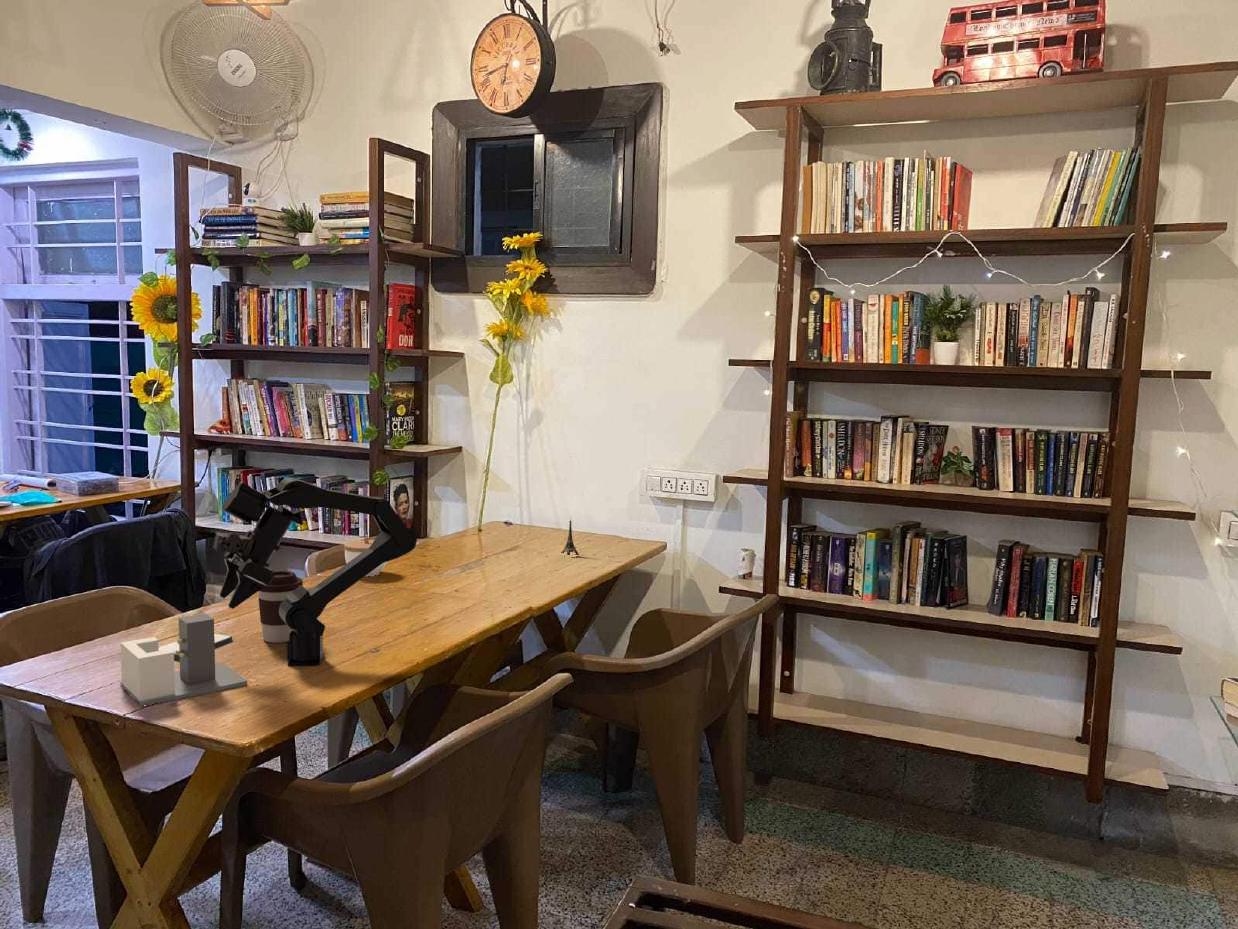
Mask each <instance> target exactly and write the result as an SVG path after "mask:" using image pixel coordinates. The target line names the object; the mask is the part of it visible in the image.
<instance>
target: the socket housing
mask: <svg viewBox="0 0 1238 929" xmlns="http://www.w3.org/2000/svg"><path fill="white" fill-rule="evenodd" d="M158 648H159V639H157V638H156V637H154V636H153V637H147V638H141V639H140V638H139V639H134V640H127V641H122V642H120V664H121V671H120V672H121V681H120V687H121V686H122V687H123V688H125V690H126V691H128V693H129V694H130V695H132V696H133V698H135V700H136V701H137V702H139V704H140V705H142V706H144V705H149V706H153V705H152V704H154V705H156V704H155V703H159V704H161V703H160V702H163V703H168V702H172V701H171V700H173V701H178V700H182V698H183V699H187V698H191V697H196V696H201V695H206V694H211V693H216V692H219V691H224V690H230V689H234V688H239V687H243V686H248V680H247V679H245V678H243V676H241V674H238V673H237V672H235V671H234V670H233V669H231V668H230V667H229V666H227V665H226V664H224V663H223V662H217V663H215V679H213V680H208V681H203V682H198V683H193V684H187V683H186V682H185V681H184V680H183V679H181V678H180V670H176V671H175V660H174V652H173V651H171V650H170V649H167V650H161V651H159V650H158ZM122 687H121V688H122ZM123 688H122V689H123ZM125 690H124V691H125ZM126 691H125V692H126ZM128 693H127V694H128ZM129 694H128V695H129ZM130 695H129V696H130ZM133 698H132V699H133ZM177 699H178V700H177ZM135 700H134V701H135ZM136 701H135V702H136ZM167 701H168V702H167ZM137 702H136V703H137ZM139 704H138V705H139ZM140 705H139V706H140ZM144 707H145V706H144Z"/></svg>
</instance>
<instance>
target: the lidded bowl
mask: <svg viewBox="0 0 1238 929" xmlns="http://www.w3.org/2000/svg"><path fill="white" fill-rule="evenodd" d="M374 540H375V539H369V536H364V539H358V540H357V539H356V540H352V541H348V542H345V543H344V545H343V546H344V547H343V548H344V559H345V563H346V564H347V563H348V562H350V561H351V560H353V559H354V558H355V557H357V556H358V555H359V554H361V553H362V552H364V551H365V550H366V549H368V548H369V547H370V546H371V545H372V543H373V542H374ZM387 563H388V561H387V562H384V563H382V564H381V565H380V566H378V567H377V568H376V569H374V570H373V571H371V572H370V573H369V574H367V575H366V576H365V577H364V578H366V577H368V576H370V577H376V576H378V575H380V573H381V571H383V570H384V568H385V566H386V564H387ZM346 564H345V565H346ZM375 575H376V576H375ZM368 578H369V577H368Z"/></svg>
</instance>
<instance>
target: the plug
mask: <svg viewBox="0 0 1238 929" xmlns="http://www.w3.org/2000/svg"><path fill="white" fill-rule="evenodd" d="M214 634H215V618H213V617H212V616H210V615H208V614H207V613H201V614H193V615H188V616H180V617H178V639H177V640H176V641H177V643H178V644H179V650H177V651H175V653H176V655H178V654H179V656H180V660H179V671H180V678H181V679H183V680H184V681H185V682H186V683H187V684H193V683H198V682H203V681H208V680H213V679H215V664H216V652H215V650H216V648H215V639H214Z"/></svg>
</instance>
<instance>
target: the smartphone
mask: <svg viewBox="0 0 1238 929" xmlns="http://www.w3.org/2000/svg"><path fill="white" fill-rule="evenodd" d="M214 639H215V647H216V648H219V647H221V646H224V645H226V644H229V643H231V642H233V637H232V635H227V634H219V633H214ZM230 641H231V642H230ZM228 642H229V643H228ZM225 643H226V644H225ZM223 644H224V645H223ZM167 649H170V650H171V651H173V652H174V661H180V656H179V654H178V655H176V653H175V651H177V650H179V644H178V643H177V640H176V641H174V642H171V643H168V644H165V645H162V646H158V650H159V651H161V650H167Z"/></svg>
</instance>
